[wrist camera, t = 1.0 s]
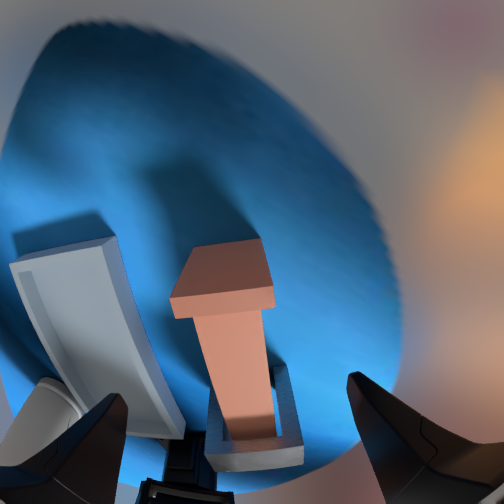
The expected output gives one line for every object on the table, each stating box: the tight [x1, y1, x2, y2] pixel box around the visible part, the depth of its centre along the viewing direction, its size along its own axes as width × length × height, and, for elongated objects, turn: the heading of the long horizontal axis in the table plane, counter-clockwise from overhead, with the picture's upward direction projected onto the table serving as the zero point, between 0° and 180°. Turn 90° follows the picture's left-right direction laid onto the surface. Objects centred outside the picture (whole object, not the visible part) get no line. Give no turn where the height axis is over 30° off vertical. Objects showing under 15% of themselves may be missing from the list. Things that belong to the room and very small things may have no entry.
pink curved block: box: [169, 238, 277, 441], centre depth 16 cm, size 14×4×7 cm, turn 7°
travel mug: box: [0, 377, 84, 466], centre depth 12 cm, size 6×7×20 cm
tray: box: [9, 236, 186, 439], centre depth 18 cm, size 19×10×2 cm, turn 7°
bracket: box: [204, 365, 304, 472], centre depth 17 cm, size 3×6×8 cm, turn 97°
